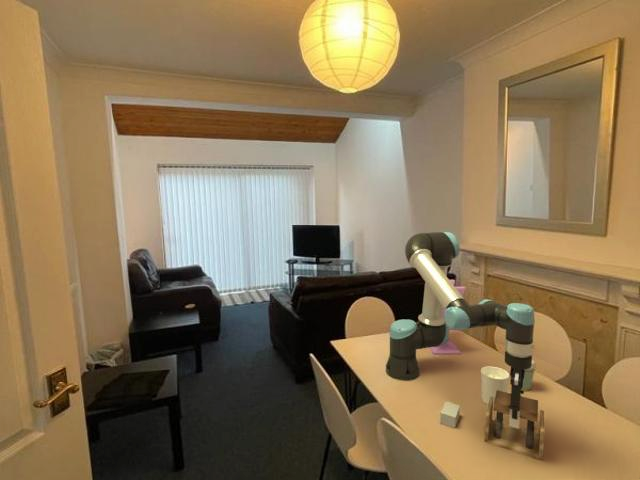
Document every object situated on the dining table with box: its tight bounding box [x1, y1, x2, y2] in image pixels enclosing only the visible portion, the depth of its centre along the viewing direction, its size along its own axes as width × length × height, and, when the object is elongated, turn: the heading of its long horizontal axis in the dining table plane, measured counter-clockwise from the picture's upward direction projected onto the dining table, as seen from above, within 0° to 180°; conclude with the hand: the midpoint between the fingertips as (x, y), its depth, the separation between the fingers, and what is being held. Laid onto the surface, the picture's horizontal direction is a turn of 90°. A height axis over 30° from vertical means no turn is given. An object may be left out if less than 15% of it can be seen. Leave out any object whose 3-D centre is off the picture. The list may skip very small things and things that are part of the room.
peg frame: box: [484, 396, 545, 462], centre depth 113 cm, size 16×12×10 cm
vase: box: [428, 279, 466, 356], centre depth 179 cm, size 16×16×35 cm
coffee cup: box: [521, 359, 537, 392], centre depth 143 cm, size 8×8×12 cm
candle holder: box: [480, 365, 510, 408], centre depth 134 cm, size 10×10×12 cm
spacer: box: [439, 401, 461, 429], centre depth 124 cm, size 8×5×4 cm, turn 148°
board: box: [493, 390, 539, 424], centre depth 112 cm, size 12×8×3 cm, turn 58°
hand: (514, 419), depth 113 cm, fingers closed on board, 8 cm apart
